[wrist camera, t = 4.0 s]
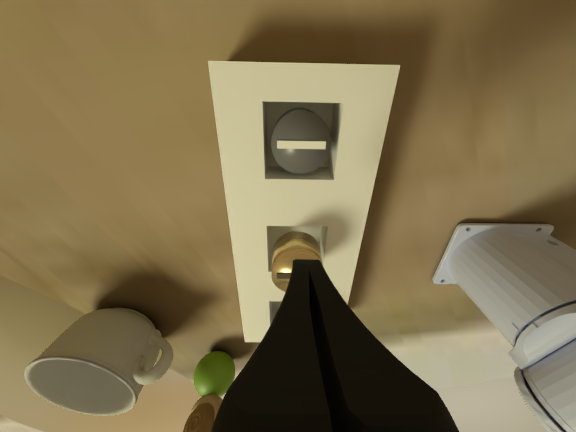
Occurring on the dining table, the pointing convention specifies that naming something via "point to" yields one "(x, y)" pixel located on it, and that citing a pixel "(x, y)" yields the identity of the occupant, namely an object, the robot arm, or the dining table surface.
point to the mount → (290, 186)
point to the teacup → (100, 363)
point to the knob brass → (292, 255)
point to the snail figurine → (210, 389)
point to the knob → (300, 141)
